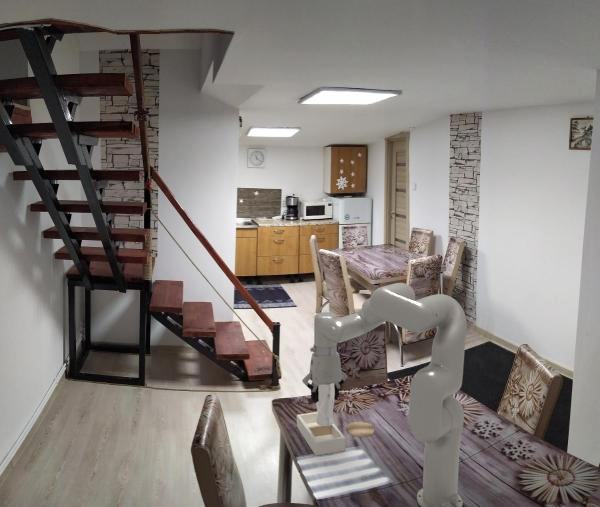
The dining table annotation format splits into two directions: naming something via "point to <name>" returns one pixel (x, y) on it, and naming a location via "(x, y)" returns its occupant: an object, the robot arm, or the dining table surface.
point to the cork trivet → (360, 429)
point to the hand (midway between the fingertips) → (324, 399)
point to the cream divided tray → (320, 435)
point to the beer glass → (325, 404)
